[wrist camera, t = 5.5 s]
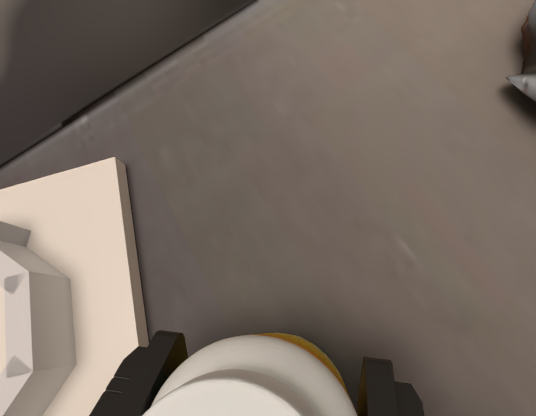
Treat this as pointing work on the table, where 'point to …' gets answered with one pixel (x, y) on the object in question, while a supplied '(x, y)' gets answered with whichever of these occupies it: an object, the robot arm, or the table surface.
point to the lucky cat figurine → (528, 58)
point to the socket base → (67, 290)
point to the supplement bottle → (255, 380)
